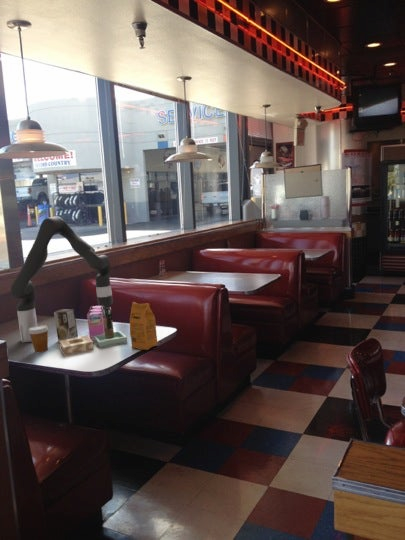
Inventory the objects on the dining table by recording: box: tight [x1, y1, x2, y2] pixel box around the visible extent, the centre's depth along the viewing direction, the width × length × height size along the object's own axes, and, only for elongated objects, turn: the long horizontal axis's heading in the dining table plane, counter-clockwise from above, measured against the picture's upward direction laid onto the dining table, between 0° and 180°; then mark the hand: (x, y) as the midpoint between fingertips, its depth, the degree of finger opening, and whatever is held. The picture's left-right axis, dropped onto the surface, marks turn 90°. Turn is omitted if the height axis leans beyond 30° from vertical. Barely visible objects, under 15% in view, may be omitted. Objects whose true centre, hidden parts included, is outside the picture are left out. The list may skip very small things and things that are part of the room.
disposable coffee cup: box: [28, 324, 49, 353], centre depth 250 cm, size 10×10×12 cm
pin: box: [102, 315, 115, 339], centre depth 253 cm, size 5×5×12 cm
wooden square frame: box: [59, 335, 95, 356], centre depth 248 cm, size 14×14×4 cm
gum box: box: [86, 305, 105, 340], centre depth 274 cm, size 24×8×14 cm, turn 7°
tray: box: [93, 330, 128, 349], centre depth 254 cm, size 14×14×3 cm
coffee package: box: [129, 301, 159, 351], centre depth 239 cm, size 10×12×22 cm
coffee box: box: [53, 308, 79, 342], centre depth 265 cm, size 9×6×16 cm
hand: (108, 327), depth 253 cm, fingers closed on pin, 4 cm apart
